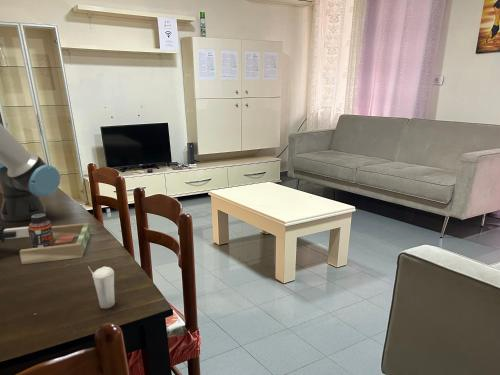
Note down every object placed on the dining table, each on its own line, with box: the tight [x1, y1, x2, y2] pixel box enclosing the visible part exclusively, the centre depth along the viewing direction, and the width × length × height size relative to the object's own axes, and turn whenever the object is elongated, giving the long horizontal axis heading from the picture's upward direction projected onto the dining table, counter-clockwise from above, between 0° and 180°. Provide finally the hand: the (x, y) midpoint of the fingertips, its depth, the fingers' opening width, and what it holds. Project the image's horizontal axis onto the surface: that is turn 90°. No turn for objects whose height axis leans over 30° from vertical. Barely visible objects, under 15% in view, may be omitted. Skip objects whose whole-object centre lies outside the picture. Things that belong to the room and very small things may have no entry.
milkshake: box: [87, 266, 116, 310], centre depth 83 cm, size 5×5×10 cm
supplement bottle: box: [28, 213, 55, 248], centre depth 113 cm, size 6×6×11 cm
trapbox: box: [19, 222, 91, 265], centre depth 115 cm, size 19×16×4 cm
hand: (29, 231), depth 111 cm, fingers closed
